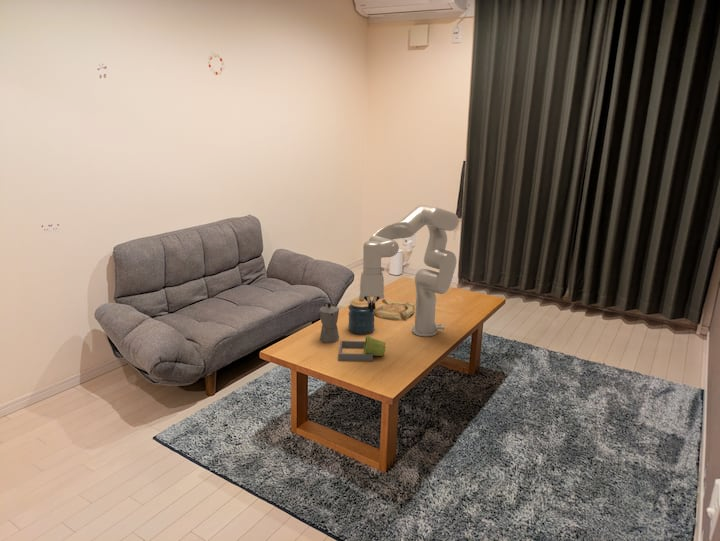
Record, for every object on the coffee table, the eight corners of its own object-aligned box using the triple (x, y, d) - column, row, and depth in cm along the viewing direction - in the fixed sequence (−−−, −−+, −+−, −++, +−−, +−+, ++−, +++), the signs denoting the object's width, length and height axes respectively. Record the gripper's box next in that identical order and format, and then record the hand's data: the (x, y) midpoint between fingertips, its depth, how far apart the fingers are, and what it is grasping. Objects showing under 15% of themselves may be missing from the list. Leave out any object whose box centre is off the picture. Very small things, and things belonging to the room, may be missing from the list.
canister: (373, 335, 248) (374, 300, 243) (347, 334, 249) (347, 300, 243) (374, 324, 260) (375, 291, 255) (349, 323, 261) (349, 291, 256)
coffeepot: (342, 343, 239) (342, 307, 233) (322, 345, 236) (322, 309, 231) (335, 330, 253) (334, 296, 248) (316, 332, 250) (315, 297, 245)
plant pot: (387, 337, 223) (368, 334, 222) (384, 359, 221) (364, 355, 220) (384, 339, 232) (365, 336, 231) (381, 360, 230) (362, 356, 229)
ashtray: (425, 313, 277) (426, 304, 276) (396, 325, 261) (397, 316, 259) (392, 301, 293) (392, 293, 292) (363, 312, 277) (363, 303, 275)
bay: (373, 347, 235) (373, 341, 234) (372, 361, 222) (372, 354, 221) (340, 346, 235) (340, 340, 235) (338, 360, 222) (338, 354, 222)
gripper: (389, 267, 220) (388, 307, 226) (354, 267, 221) (354, 307, 226) (390, 273, 213) (389, 314, 219) (353, 272, 214) (354, 313, 219)
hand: (371, 310), depth 223 cm, fingers closed
